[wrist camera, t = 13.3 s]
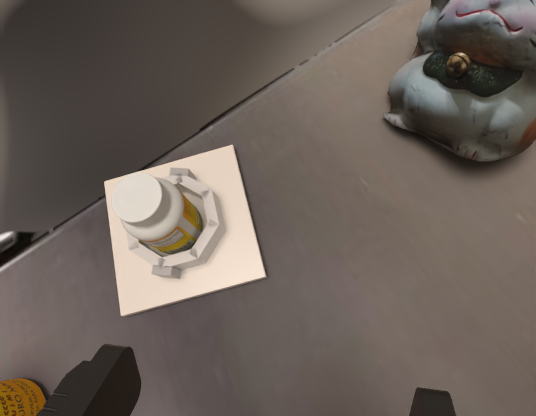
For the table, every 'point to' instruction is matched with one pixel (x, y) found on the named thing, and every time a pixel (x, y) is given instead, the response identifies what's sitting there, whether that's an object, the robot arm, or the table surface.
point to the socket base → (225, 257)
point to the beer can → (20, 398)
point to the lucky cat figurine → (471, 79)
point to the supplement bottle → (156, 213)
